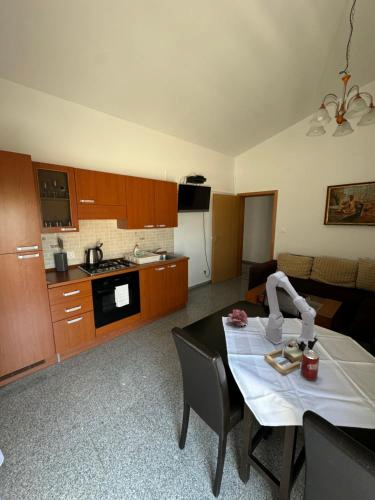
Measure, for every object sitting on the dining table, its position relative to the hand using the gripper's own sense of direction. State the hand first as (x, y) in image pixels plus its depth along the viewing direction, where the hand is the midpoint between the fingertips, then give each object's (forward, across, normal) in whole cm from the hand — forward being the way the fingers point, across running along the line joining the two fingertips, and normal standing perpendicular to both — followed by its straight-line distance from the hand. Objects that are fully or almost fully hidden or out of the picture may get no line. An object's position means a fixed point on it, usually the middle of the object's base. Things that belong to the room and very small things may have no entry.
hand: (305, 350), depth 122 cm
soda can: (+2, -14, -12) cm, 18 cm away
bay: (+1, -18, 0) cm, 18 cm away
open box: (+1, -9, 0) cm, 9 cm away
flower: (+2, -14, +44) cm, 46 cm away
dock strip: (+1, -18, 0) cm, 18 cm away
